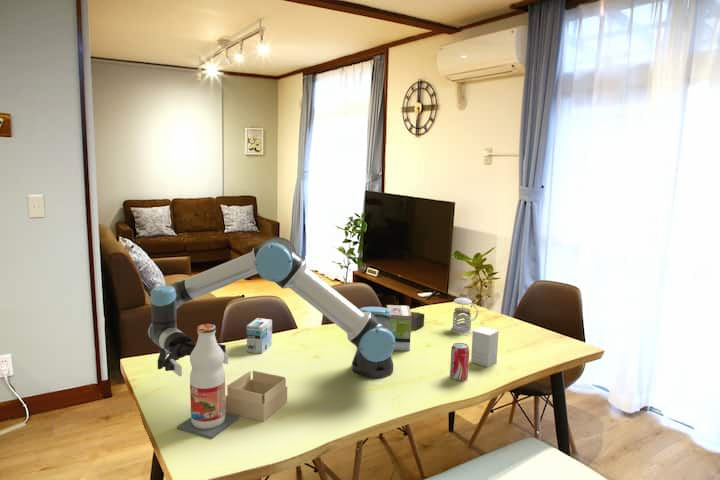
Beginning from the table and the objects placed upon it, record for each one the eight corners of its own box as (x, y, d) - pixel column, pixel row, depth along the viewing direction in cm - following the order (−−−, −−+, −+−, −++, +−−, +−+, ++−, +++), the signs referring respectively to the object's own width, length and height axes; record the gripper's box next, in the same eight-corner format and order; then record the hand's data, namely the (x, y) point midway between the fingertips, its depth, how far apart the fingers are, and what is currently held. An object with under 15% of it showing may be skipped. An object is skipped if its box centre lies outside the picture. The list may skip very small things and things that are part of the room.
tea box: (410, 351, 201) (412, 315, 199) (385, 350, 202) (386, 314, 199) (407, 338, 216) (409, 304, 214) (384, 337, 217) (385, 304, 214)
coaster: (238, 418, 146) (238, 416, 146) (212, 438, 135) (212, 436, 135) (205, 409, 150) (205, 407, 150) (176, 428, 139) (176, 426, 139)
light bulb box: (262, 354, 194) (262, 327, 193) (246, 352, 196) (245, 325, 194) (272, 344, 205) (272, 318, 203) (257, 342, 206) (256, 317, 204)
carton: (287, 401, 157) (287, 377, 155) (263, 421, 144) (263, 395, 143) (251, 393, 161) (251, 369, 160) (225, 411, 149) (225, 386, 148)
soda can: (466, 382, 174) (468, 349, 172) (448, 379, 176) (450, 346, 174) (469, 375, 180) (471, 343, 178) (451, 372, 182) (453, 340, 180)
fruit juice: (232, 420, 143) (231, 326, 139) (203, 433, 136) (201, 334, 132) (212, 409, 149) (210, 318, 145) (184, 421, 142) (181, 326, 137)
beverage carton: (388, 318, 242) (388, 305, 241) (424, 326, 233) (425, 312, 232) (380, 323, 236) (380, 309, 235) (417, 331, 226) (418, 317, 225)
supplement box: (497, 362, 192) (499, 330, 190) (487, 367, 187) (489, 335, 185) (480, 356, 197) (482, 325, 195) (470, 362, 192) (472, 330, 190)
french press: (449, 326, 233) (452, 273, 229) (475, 328, 232) (478, 275, 228) (450, 333, 223) (453, 278, 220) (477, 335, 222) (480, 280, 218)
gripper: (213, 346, 165) (244, 367, 149) (134, 364, 149) (159, 390, 133) (213, 324, 164) (244, 343, 148) (133, 340, 148) (158, 363, 132)
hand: (204, 365), depth 141 cm, fingers open, 13 cm apart
